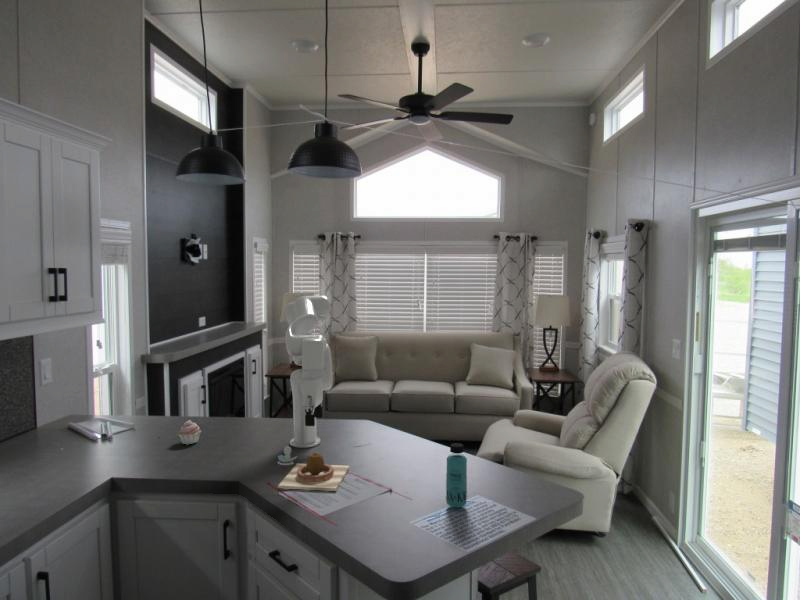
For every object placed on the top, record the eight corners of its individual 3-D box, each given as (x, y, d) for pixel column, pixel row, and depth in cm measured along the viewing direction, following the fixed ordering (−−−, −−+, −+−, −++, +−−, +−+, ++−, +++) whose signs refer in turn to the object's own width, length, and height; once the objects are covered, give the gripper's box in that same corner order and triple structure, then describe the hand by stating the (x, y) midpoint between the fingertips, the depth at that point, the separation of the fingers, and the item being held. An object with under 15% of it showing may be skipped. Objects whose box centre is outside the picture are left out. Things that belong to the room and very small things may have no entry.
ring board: (297, 466, 201) (296, 458, 201) (349, 468, 199) (349, 460, 198) (278, 488, 182) (278, 479, 181) (336, 491, 179) (336, 482, 179)
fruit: (309, 479, 186) (309, 457, 186) (304, 473, 192) (303, 451, 191) (326, 476, 189) (326, 454, 188) (321, 470, 195) (320, 448, 194)
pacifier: (292, 467, 202) (298, 461, 207) (291, 451, 201) (298, 445, 207) (274, 465, 203) (281, 459, 209) (273, 449, 203) (280, 443, 208)
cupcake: (206, 441, 231) (205, 418, 230) (187, 448, 223) (186, 424, 222) (192, 438, 236) (191, 415, 235) (173, 444, 228) (172, 420, 227)
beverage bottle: (444, 503, 170) (444, 441, 168) (465, 502, 170) (465, 440, 169) (447, 512, 163) (447, 448, 162) (469, 511, 164) (469, 447, 162)
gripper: (310, 368, 197) (310, 414, 198) (294, 378, 180) (295, 428, 181) (330, 368, 196) (330, 414, 197) (316, 379, 179) (317, 429, 180)
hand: (314, 421), depth 189 cm, fingers open, 9 cm apart
